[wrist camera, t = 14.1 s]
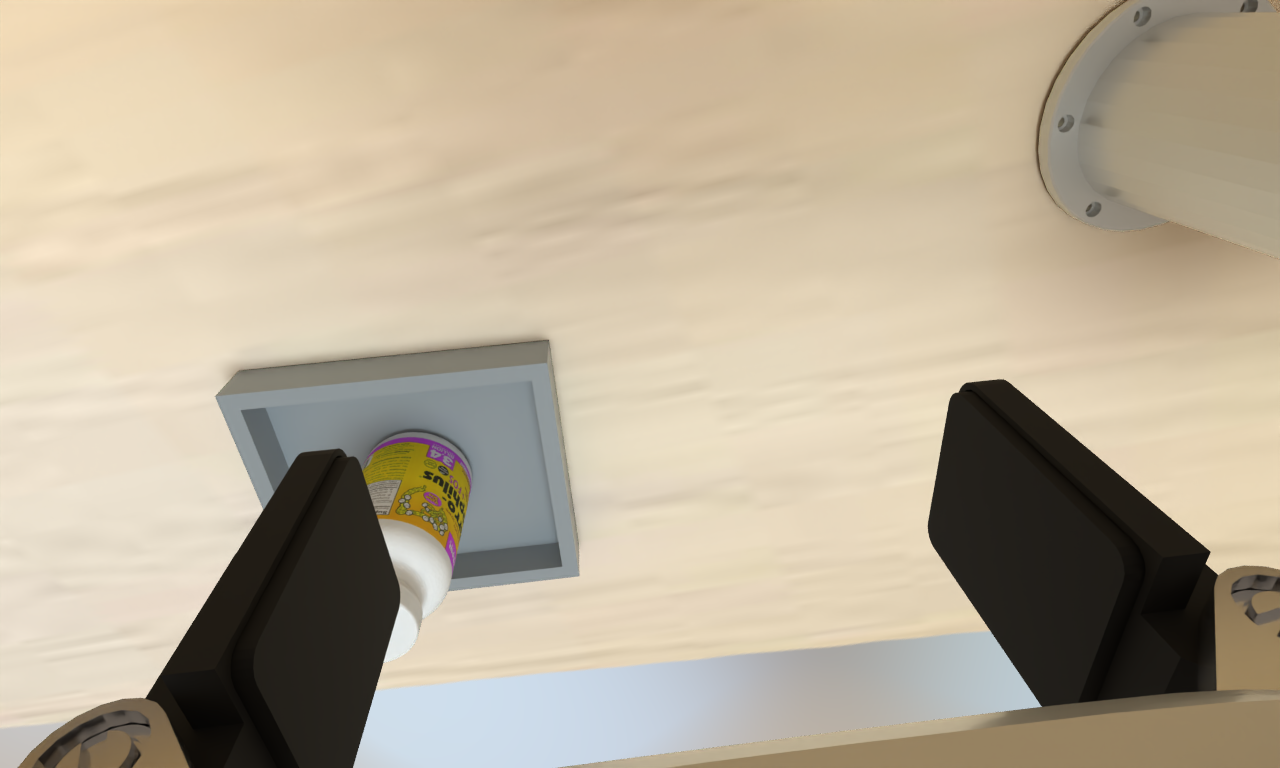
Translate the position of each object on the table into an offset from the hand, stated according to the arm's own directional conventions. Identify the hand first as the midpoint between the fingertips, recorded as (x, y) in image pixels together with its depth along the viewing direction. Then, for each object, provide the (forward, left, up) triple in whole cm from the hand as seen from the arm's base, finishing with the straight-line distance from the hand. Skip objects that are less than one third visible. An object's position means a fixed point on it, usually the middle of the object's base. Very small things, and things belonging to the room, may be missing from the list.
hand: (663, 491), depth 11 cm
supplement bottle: (+13, +18, -28) cm, 36 cm away
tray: (+13, +18, -28) cm, 36 cm away
